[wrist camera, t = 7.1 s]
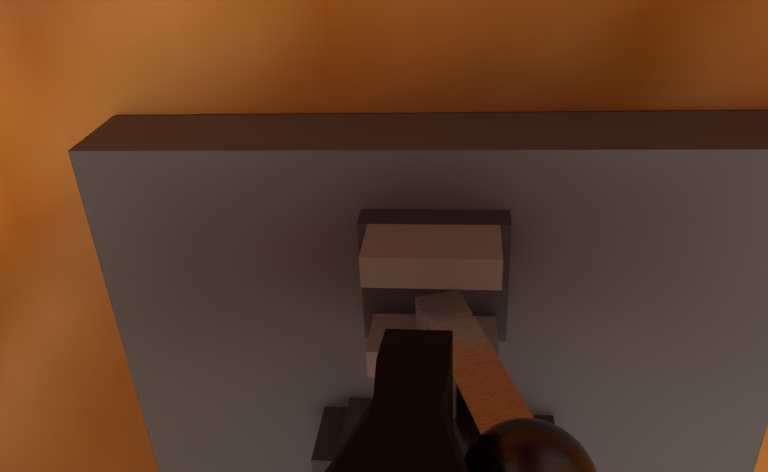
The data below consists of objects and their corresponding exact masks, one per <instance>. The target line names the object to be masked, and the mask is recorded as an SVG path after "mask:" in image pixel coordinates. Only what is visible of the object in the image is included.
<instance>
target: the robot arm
mask: <svg viewBox="0 0 768 472" xmlns="http://www.w3.org/2000/svg"><path fill="white" fill-rule="evenodd" d="M325 472H469V470H468V468H467V465H466V463H465V460H464V457H463V455H462V452H461V450H460V447H459V444H458V441H457V438H456V435H455V432H454V429H453V330H417V329H385V332H384V335H383V338H382V341H381V344H380V348H379V351H378V355H377V359H376V368H375V381H374V394H373V399H372V400H371V402H370V404H369V405H368V407H367V409H366V410H365V412H364V414H363V415H362V417H361V419H360V420H359V422H358V424H357V425H356V427H355V428H354V430H353V432H352V433H351V435H350V436H349V438H348V439H347V441H346V442H345V443H344V445H343V446H342V448H341V449H340V451H339V452H338V453H337V455H336V456H335V458H334V459H333V460H332V462H331V463H330V465H329V466H328V468H327V469H326V470H325Z"/></svg>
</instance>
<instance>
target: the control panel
mask: <svg viewBox="0 0 768 472" xmlns="http://www.w3.org/2000/svg"><path fill="white" fill-rule="evenodd" d="M68 153H69V156H70V160H71V163H72V167H73V170H74V174H75V177H76V181H77V184H78V188H79V191H80V195H81V198H82V202H83V205H84V209H85V212H86V216H87V219H88V223H89V226H90V230H91V234H92V237H93V241H94V244H95V248H96V251H97V255H98V258H99V262H100V265H101V269H102V272H103V276H104V279H105V283H106V286H107V290H108V293H109V297H110V300H111V304H112V307H113V311H114V315H115V318H116V322H117V325H118V329H119V332H120V336H121V339H122V343H123V346H124V350H125V353H126V357H127V360H128V364H129V367H130V371H131V374H132V378H133V381H134V385H135V389H136V392H137V396H138V399H139V403H140V406H141V410H142V413H143V417H144V420H145V424H146V427H147V431H148V434H149V438H150V441H151V445H152V448H153V452H154V455H155V459H156V462H157V466H158V470H159V472H325V470H326V469H327V468H328V466H329V465H330V463H331V462H332V460H333V459H334V458H335V456H336V455H337V453H338V452H339V451H340V449H341V448H342V446H343V445H344V443H345V442H346V441H347V439H348V438H349V436H350V435H351V433H352V432H353V430H354V428H355V427H356V425H357V424H358V422H359V420H360V419H361V417H362V415H363V414H364V412H365V410H366V409H367V407H368V405H369V404H370V402H371V400H372V399H373V394H374V381H375V368H376V359H377V355H378V351H379V348H380V344H381V341H382V338H383V335H384V332H385V329H416V309H415V297H418V296H424V295H430V294H436V293H443V292H449V291H455V290H459V291H460V293H461V294H462V296H463V298H464V299H465V301H466V303H467V305H468V306H469V308H470V310H471V311H472V313H473V315H474V316H475V318H476V320H477V322H478V323H479V325H480V327H481V328H482V330H483V332H484V333H485V335H486V337H487V339H488V340H489V342H490V344H491V345H492V347H493V349H494V351H495V352H496V354H497V356H498V357H499V359H500V361H501V362H502V364H503V366H504V368H505V369H506V371H507V373H508V374H509V376H510V378H511V379H512V381H513V383H514V385H515V386H516V388H517V390H518V391H519V393H520V395H521V396H522V398H523V400H524V402H525V403H526V405H527V407H528V408H529V410H530V412H531V414H532V415H533V417H534V418H535V419H540V420H544V421H547V422H550V423H553V424H555V425H557V426H559V427H561V428H562V429H564V430H565V431H567V432H568V433H570V434H571V435H572V436H573V437H574V438H576V439H577V440H578V441H579V442H580V444H581V445H582V446H583V447H584V448H585V450H586V451H587V452H588V454H589V456H590V458H591V459H592V461H593V463H594V465H595V468H596V470H597V472H754V468H755V465H756V461H757V458H758V455H759V451H760V448H761V445H762V441H763V438H764V435H765V431H766V428H767V425H768V110H741V111H619V112H496V113H373V114H250V115H127V116H113V117H112V118H110V119H109V120H108V121H106V122H105V123H104V124H102V125H101V126H100V127H99V128H97V129H96V130H95V131H93V132H92V133H91V134H89V135H88V136H87V137H85V138H84V139H83V140H82V141H80V142H79V143H78V144H76V145H75V146H74V147H72V148H71V149H70V150H69V151H68ZM453 429H454V432H455V435H456V438H457V441H458V444H459V447H460V450H461V452H462V455H463V457H465V455H466V453H467V451H468V449H467V447H466V445H465V443H464V440H463V438H462V436H461V434H460V431H459V429H458V427H457V425H456V422H455V420H454V418H453Z"/></svg>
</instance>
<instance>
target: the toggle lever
mask: <svg viewBox="0 0 768 472" xmlns="http://www.w3.org/2000/svg"><path fill="white" fill-rule="evenodd" d="M415 309H416V329H417V330H453V418H454V420H455V422H456V425H457V427H458V429H459V431H460V434H461V436H462V438H463V440H464V443H465V445H466V447H467V449H468V451H467V453H466V455H465V457H464V460H465V463H466V465H467V468H468V470H469V472H597V470H596V468H595V465H594V463H593V461H592V459H591V458H590V456H589V454H588V452H587V451H586V450H585V448H584V447H583V446H582V445H581V444H580V442H579V441H578V440H577V439H576V438H574V437H573V436H572V435H571V434H570V433H568V432H567V431H565V430H564V429H562V428H561V427H559V426H557V425H555V424H553V423H550V422H547V421H544V420H540V419H535V418H534V417H533V415H532V414H531V412H530V410H529V408H528V407H527V405H526V403H525V402H524V400H523V398H522V396H521V395H520V393H519V391H518V390H517V388H516V386H515V385H514V383H513V381H512V379H511V378H510V376H509V374H508V373H507V371H506V369H505V368H504V366H503V364H502V362H501V361H500V359H499V357H498V356H497V354H496V352H495V351H494V349H493V347H492V345H491V344H490V342H489V340H488V339H487V337H486V335H485V333H484V332H483V330H482V328H481V327H480V325H479V323H478V322H477V320H476V318H475V316H474V315H473V313H472V311H471V310H470V308H469V306H468V305H467V303H466V301H465V299H464V298H463V296H462V294H461V293H460V291H459V290H455V291H449V292H443V293H436V294H430V295H424V296H418V297H415Z"/></svg>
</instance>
